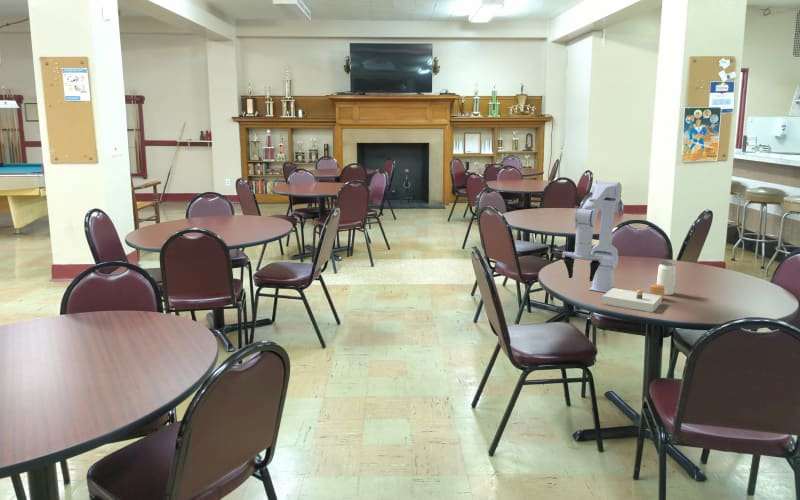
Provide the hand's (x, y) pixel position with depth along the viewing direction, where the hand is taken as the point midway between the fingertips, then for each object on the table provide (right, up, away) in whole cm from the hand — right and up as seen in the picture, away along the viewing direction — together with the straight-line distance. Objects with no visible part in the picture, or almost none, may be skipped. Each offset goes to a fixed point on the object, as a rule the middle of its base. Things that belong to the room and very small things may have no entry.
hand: (580, 279), depth 229 cm
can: (+39, -7, +21) cm, 45 cm away
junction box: (+21, -9, +6) cm, 23 cm away
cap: (+33, -8, +13) cm, 36 cm away
